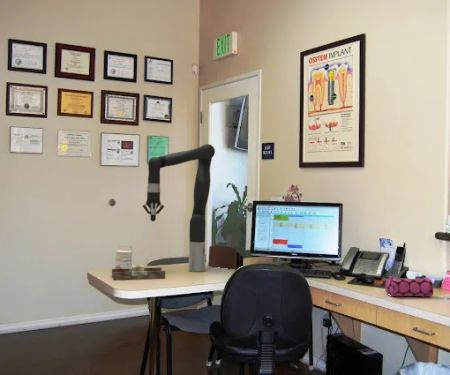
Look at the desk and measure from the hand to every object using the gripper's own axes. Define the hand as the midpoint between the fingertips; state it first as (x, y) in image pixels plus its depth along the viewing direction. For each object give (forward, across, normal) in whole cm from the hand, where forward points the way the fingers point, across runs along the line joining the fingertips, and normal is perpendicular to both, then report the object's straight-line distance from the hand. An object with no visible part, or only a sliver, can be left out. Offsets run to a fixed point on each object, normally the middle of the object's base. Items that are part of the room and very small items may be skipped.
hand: (152, 221), depth 286 cm
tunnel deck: (+29, +10, +18) cm, 36 cm away
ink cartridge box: (+29, +16, -2) cm, 33 cm away
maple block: (+27, +11, +18) cm, 34 cm away
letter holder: (+29, -47, -4) cm, 56 cm away
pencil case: (+29, -108, +91) cm, 144 cm away
